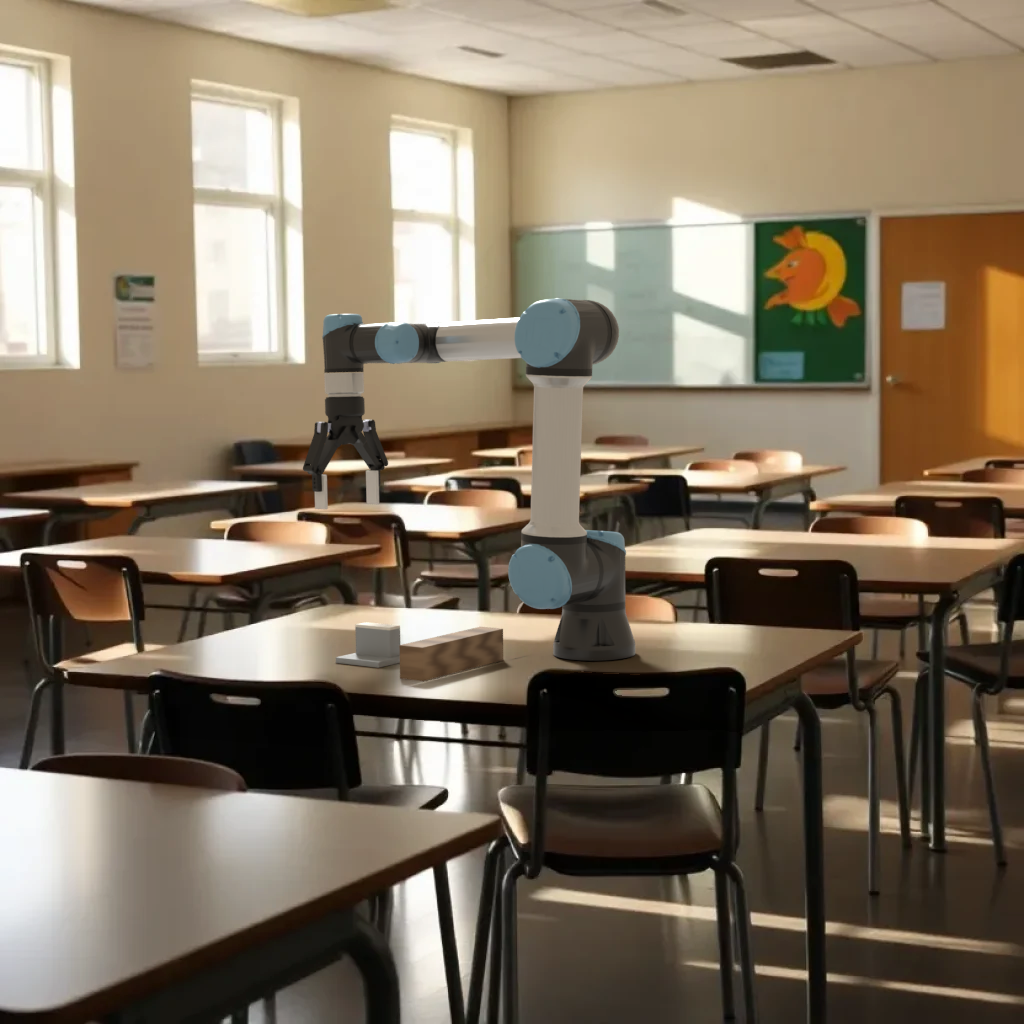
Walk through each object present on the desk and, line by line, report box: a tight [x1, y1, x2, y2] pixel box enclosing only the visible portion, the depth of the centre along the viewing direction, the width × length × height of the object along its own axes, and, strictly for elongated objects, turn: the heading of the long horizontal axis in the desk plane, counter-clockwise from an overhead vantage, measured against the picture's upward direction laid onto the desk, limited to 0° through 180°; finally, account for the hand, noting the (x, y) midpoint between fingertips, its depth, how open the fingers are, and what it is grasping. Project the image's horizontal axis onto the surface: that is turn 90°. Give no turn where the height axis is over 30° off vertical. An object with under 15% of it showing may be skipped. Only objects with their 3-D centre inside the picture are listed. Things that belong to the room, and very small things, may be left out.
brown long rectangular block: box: [399, 626, 504, 682], centre depth 305 cm, size 24×5×6 cm, turn 146°
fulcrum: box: [335, 621, 401, 669], centre depth 314 cm, size 10×12×6 cm
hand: (347, 506), depth 332 cm, fingers open, 13 cm apart
